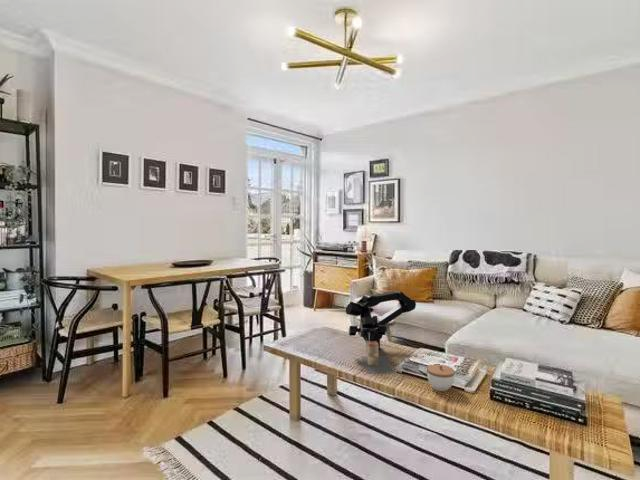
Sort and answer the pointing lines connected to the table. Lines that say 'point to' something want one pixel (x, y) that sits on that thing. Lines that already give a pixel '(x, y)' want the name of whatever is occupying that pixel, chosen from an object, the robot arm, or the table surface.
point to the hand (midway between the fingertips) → (369, 346)
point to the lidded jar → (440, 376)
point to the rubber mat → (381, 367)
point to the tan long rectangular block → (372, 352)
